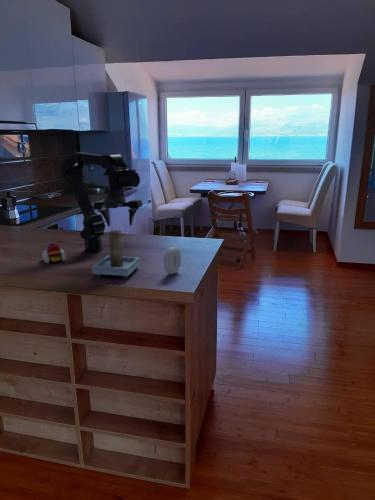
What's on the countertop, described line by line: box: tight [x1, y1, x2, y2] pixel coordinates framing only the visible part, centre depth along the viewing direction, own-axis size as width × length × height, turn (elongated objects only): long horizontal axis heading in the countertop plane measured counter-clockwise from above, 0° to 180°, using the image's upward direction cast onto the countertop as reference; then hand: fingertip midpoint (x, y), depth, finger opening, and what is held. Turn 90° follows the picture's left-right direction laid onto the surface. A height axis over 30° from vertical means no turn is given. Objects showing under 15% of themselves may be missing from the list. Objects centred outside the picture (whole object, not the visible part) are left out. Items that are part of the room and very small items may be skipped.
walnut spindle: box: [108, 230, 124, 267], centre depth 138 cm, size 4×4×12 cm
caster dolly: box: [91, 255, 141, 280], centre depth 140 cm, size 13×13×4 cm
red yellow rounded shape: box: [41, 242, 67, 264], centre depth 154 cm, size 8×10×7 cm
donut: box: [163, 246, 182, 275], centre depth 138 cm, size 10×4×10 cm, turn 156°
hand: (119, 225), depth 156 cm, fingers open, 9 cm apart
